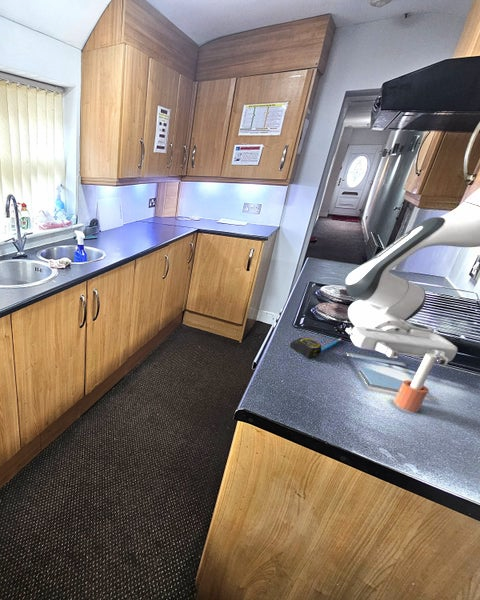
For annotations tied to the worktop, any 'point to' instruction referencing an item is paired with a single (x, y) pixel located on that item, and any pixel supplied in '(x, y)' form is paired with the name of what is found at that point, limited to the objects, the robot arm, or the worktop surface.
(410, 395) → the pen pot
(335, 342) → the pencil
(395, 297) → the robot arm
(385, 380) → the tablet
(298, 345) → the tape measure
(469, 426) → the worktop surface
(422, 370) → the stylus
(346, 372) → the worktop surface
